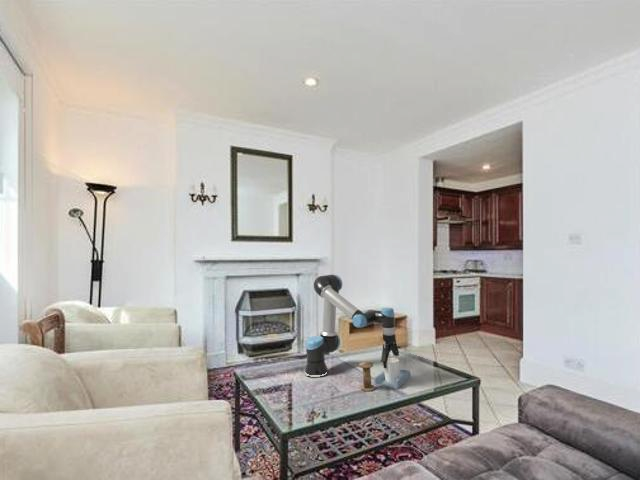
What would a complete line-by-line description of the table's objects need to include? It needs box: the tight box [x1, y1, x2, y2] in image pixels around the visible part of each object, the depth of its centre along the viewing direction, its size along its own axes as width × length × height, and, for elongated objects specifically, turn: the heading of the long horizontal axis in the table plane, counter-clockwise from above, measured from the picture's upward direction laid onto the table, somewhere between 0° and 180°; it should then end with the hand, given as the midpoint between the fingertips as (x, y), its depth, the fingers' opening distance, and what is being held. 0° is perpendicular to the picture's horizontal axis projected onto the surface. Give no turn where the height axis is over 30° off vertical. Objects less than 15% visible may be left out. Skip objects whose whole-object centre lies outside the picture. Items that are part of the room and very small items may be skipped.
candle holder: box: [384, 357, 400, 383], centre depth 206 cm, size 10×10×12 cm
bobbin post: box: [358, 361, 376, 392], centre depth 198 cm, size 8×8×14 cm
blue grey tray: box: [373, 368, 412, 390], centre depth 207 cm, size 14×20×4 cm
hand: (391, 369), depth 206 cm, fingers open, 13 cm apart
